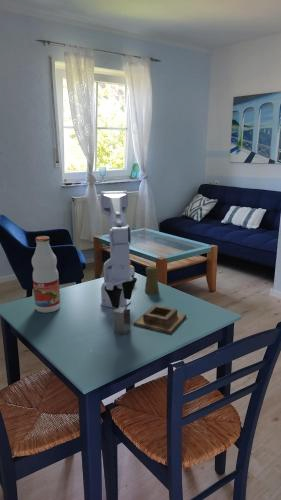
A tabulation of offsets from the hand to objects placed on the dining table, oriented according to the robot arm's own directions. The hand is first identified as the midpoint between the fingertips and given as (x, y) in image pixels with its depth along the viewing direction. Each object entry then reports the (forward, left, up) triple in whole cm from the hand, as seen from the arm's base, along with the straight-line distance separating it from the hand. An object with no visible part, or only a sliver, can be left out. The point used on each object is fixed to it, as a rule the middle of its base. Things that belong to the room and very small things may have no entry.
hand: (121, 303), depth 125 cm
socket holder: (+8, +13, -10) cm, 18 cm away
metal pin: (0, 0, -10) cm, 10 cm away
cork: (-7, +36, -11) cm, 38 cm away
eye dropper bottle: (-21, +40, -11) cm, 46 cm away
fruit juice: (-35, +3, -11) cm, 37 cm away
